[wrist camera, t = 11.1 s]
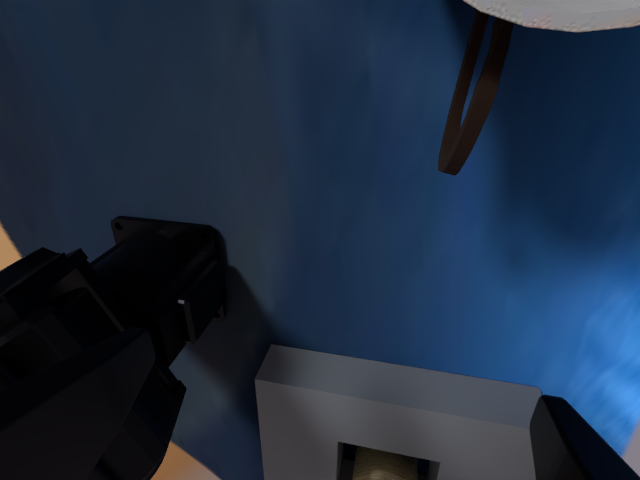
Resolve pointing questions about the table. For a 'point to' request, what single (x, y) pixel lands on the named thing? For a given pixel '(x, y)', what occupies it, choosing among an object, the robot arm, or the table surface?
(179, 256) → the robot arm
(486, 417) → the flange socket
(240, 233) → the table surface
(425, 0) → the table surface
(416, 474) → the brass fitting
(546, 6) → the coffee mug
